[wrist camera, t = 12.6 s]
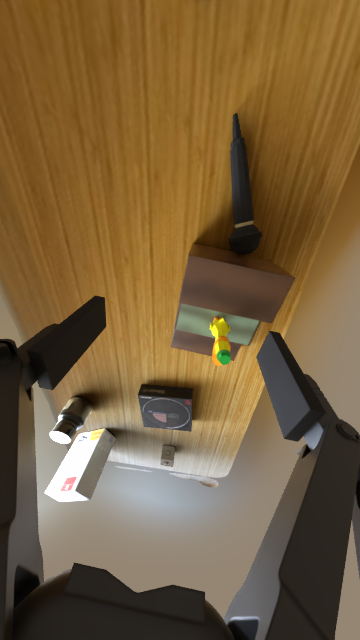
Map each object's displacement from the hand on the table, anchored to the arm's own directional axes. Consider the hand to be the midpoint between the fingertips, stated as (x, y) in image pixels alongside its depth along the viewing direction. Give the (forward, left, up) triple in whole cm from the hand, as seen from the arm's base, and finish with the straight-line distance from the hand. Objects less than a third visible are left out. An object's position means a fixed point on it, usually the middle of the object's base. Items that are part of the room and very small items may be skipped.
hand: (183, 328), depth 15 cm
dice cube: (+78, +7, -28) cm, 83 cm away
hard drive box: (+80, -24, -28) cm, 88 cm away
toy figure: (+9, +7, -20) cm, 23 cm away
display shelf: (+9, +7, -28) cm, 30 cm away
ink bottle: (+60, -29, -28) cm, 72 cm away
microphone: (-12, +6, -28) cm, 31 cm away
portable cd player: (+49, +2, -28) cm, 56 cm away
